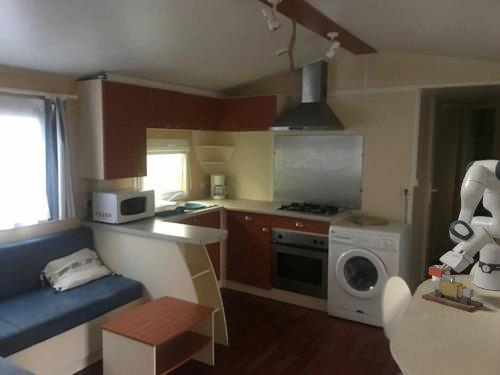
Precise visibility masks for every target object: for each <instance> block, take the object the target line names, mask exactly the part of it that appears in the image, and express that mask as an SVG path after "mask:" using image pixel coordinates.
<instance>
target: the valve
mask: <svg viewBox="0 0 500 375" xmlns="http://www.w3.org/2000/svg"><path fill="white" fill-rule="evenodd" d="M432 289H434V291H435V297H439V298H442V297H445V295H448V296H452V297H455V298H457V297H461V300H460V303H461V304H464V305H469V304H471V300H472V298H473V297H474V288H470V287H467V285H464V283H462V282H459V281H455V282H454V283H453V282H451V279H449V280H447V281H438V280H435V281H433V280H432Z"/></svg>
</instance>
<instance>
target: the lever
mask: <svg viewBox="0 0 500 375" xmlns="http://www.w3.org/2000/svg"><path fill="white" fill-rule="evenodd" d="M428 275H429V276H435V277H439V278H447V279H449V280H451V282H453V283H454V282H456V276H454V275H451V274H450V275H447V274H445V269H441V268H437V267H433V265H431V266H429V267H428Z"/></svg>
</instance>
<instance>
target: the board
mask: <svg viewBox="0 0 500 375" xmlns="http://www.w3.org/2000/svg"><path fill="white" fill-rule="evenodd" d="M421 299H423V300H426V301H429V302H433V303H437V304H440V305H443V306H448V307H451V308H454V309H458V310H461V311H465V312H467V313H471V312H473V311H475V310H477V309H479V308H481V307H483V306H484V303H483V302H481V301H476V300H472V299H471V304H469V305H464V304H461V303H460V300H461V297H457V298H455V297H452V296H448V295H445V297H442V298H439V297H435V290H434V291H432V292H428V293H426V294H422V295H421Z"/></svg>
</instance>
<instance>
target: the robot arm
mask: <svg viewBox="0 0 500 375" xmlns="http://www.w3.org/2000/svg"><path fill="white" fill-rule="evenodd" d="M460 189H461V190H460V199H461V200H460V201H461V204H460V205H461V208H460V213H459V216H458V219H456V220H454V221H452V222H451V223H450V225H449V228H448V229H449V230H448V232H449V239H450V241H451V242H452V243H454V244H455V245H456V246H454V247H453V248H452V250H449V251H447V252H446V253H444V254H443V255H441V257H440V258H439V261H440V262H441V263H442V265H441V266H442V268H441V269H445V273H446V272H447V271H450V272H451V270H453V271H454V272H456V273H461V272H462V271H464V270H465V269H466V268H467V267H469V265H472V264H473V263H474V262H475V260H474V258H473V257H475V255H476V254H477V253H478V252H479V260H478V266H477V268H476V269H475V272H474V273H475V274H474V279H473V280H471V284H473V285H475V286H476V287H478V288H481V289H485V290H491V291H500V245H499V244H498V243H496V241H495V240H494V239H500V160H497V159H485V160H482V159H481V160H473V161H470V162H469V163H468V164H467V165H466V168H465V176H464V178H463V181H462V183H461V188H460ZM481 200H482V205H483V207H484V209H485V210H487V211H489V212H490V213H491V216H492V217H490V216H479V215H478V216H474V215H475V211H476V209H477V207H478V205H479V203H480V201H481Z"/></svg>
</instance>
